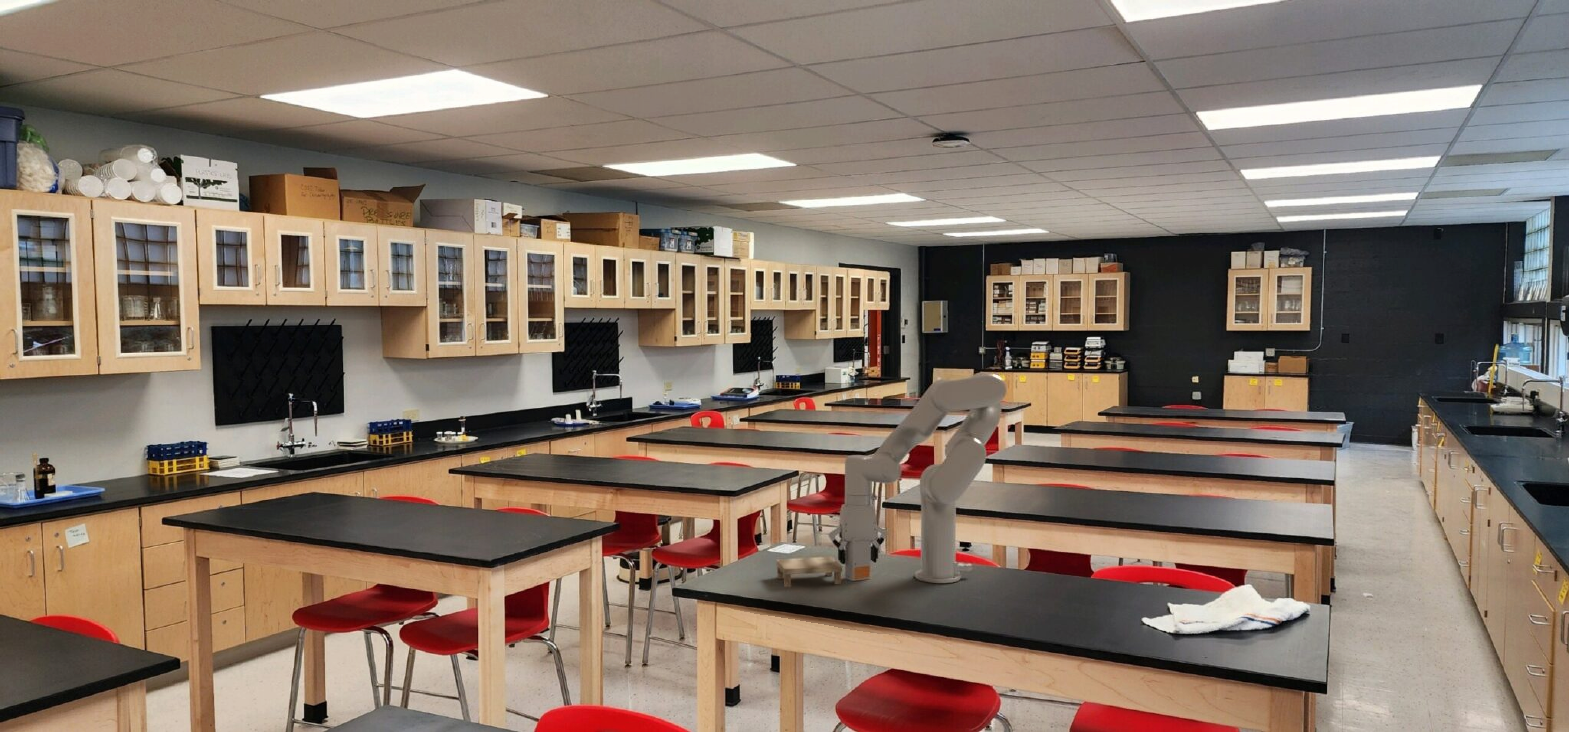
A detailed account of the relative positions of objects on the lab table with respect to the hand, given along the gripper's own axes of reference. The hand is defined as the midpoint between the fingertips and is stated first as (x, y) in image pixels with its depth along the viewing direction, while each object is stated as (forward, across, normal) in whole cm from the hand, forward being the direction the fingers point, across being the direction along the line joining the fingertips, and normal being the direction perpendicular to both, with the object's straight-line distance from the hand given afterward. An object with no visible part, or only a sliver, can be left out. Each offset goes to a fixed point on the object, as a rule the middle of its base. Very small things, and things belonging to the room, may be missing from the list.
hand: (858, 561), depth 262 cm
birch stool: (+5, +14, 0) cm, 15 cm away
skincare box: (+5, 0, 0) cm, 5 cm away
